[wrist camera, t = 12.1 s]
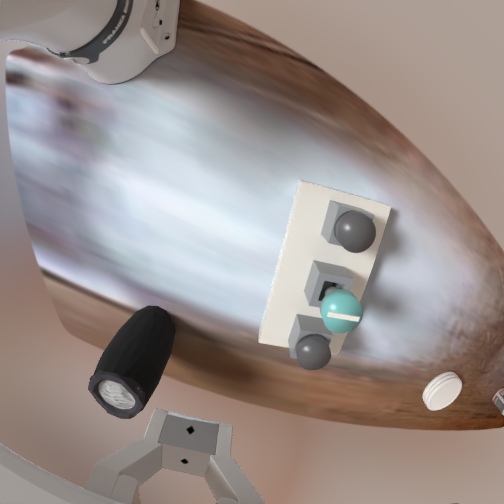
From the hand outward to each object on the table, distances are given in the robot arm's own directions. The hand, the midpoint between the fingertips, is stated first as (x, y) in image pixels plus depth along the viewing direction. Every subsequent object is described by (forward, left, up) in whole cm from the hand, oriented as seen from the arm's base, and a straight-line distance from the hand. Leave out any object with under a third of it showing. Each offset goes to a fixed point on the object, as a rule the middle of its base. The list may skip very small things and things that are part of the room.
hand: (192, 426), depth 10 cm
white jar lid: (+27, +53, -38) cm, 70 cm away
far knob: (+14, +14, -33) cm, 38 cm away
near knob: (-4, +14, -33) cm, 36 cm away
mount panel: (+5, +14, -37) cm, 40 cm away
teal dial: (+5, +14, -29) cm, 33 cm away
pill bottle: (+31, +83, -37) cm, 96 cm away
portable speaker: (+21, -11, -37) cm, 44 cm away
